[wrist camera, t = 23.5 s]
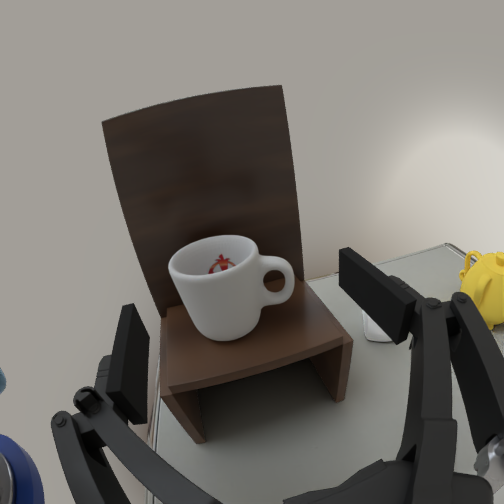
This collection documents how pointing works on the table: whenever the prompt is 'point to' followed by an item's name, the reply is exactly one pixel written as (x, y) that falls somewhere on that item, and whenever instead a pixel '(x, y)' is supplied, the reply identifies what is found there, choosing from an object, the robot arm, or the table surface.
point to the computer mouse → (373, 330)
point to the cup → (226, 284)
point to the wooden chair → (216, 224)
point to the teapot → (485, 285)
